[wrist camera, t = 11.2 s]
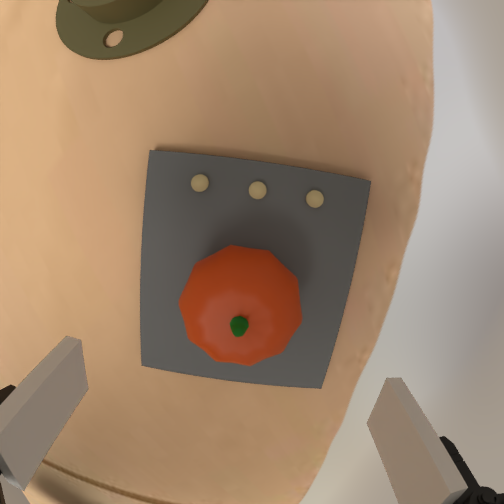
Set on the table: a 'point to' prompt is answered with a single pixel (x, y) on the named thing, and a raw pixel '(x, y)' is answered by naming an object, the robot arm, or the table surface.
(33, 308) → the table surface
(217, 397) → the table surface
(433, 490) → the robot arm
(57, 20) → the flange
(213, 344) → the pumpkin
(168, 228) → the mat
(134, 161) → the table surface
